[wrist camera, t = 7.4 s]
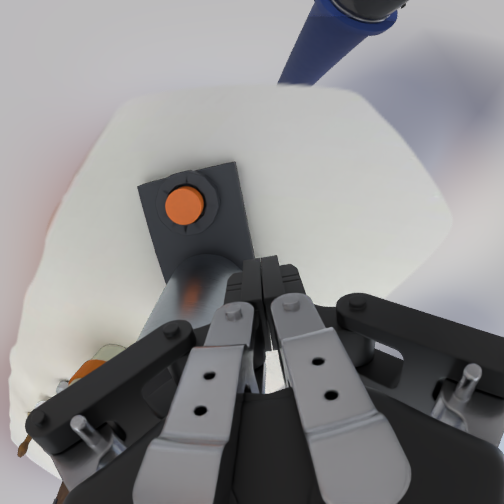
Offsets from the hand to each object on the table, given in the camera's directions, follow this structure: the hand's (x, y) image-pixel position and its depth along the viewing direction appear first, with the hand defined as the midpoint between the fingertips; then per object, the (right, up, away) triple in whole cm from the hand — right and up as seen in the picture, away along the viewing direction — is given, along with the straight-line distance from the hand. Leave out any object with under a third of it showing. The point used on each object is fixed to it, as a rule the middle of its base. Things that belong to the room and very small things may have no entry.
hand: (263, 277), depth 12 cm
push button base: (-6, +2, +21) cm, 22 cm away
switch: (-7, +6, +15) cm, 18 cm away
